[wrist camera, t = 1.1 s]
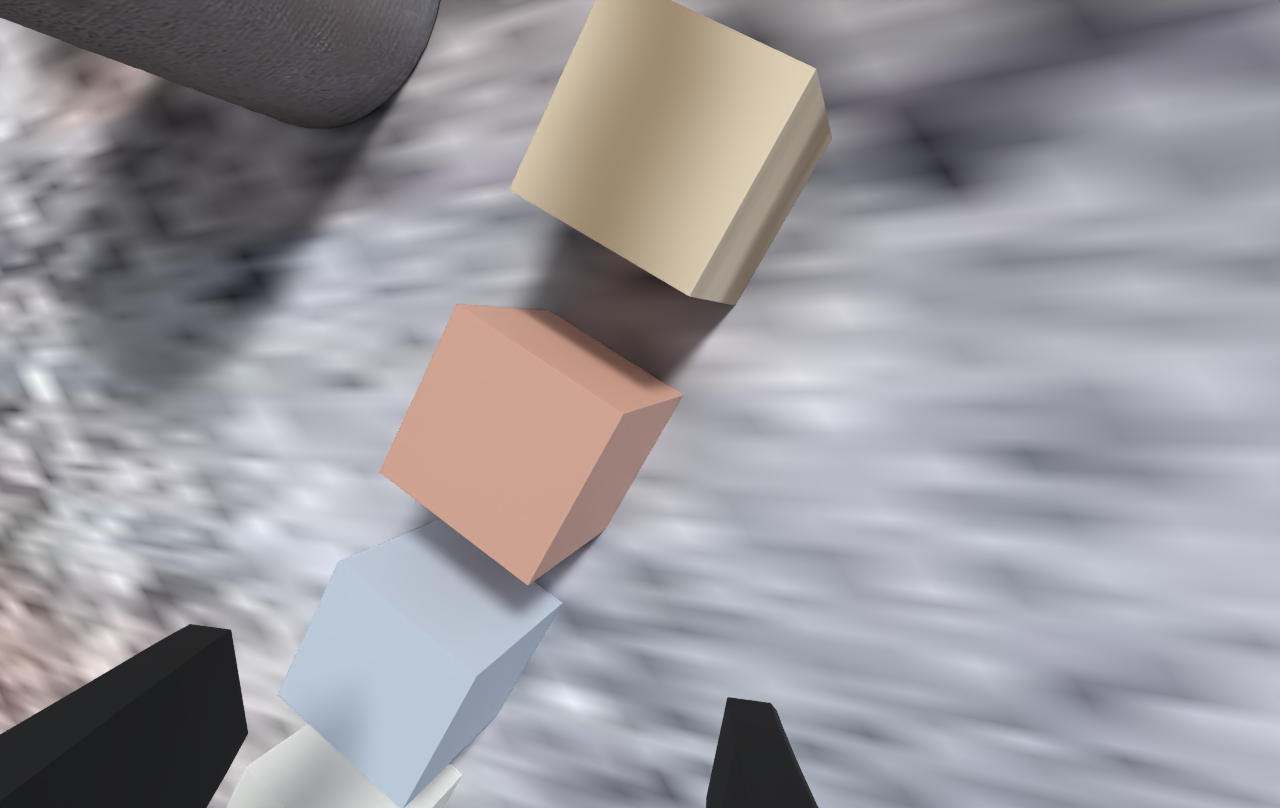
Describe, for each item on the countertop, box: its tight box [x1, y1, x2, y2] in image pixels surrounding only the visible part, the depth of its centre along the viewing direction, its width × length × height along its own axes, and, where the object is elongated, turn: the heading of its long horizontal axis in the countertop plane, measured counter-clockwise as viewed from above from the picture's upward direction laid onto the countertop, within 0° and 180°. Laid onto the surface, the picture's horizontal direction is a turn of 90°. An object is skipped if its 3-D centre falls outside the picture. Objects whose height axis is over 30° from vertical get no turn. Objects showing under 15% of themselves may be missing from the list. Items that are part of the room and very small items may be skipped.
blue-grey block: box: [278, 519, 562, 808], centre depth 21 cm, size 5×5×5 cm
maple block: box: [509, 0, 832, 305], centre depth 16 cm, size 5×5×5 cm
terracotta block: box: [380, 304, 683, 585], centre depth 19 cm, size 5×5×5 cm
